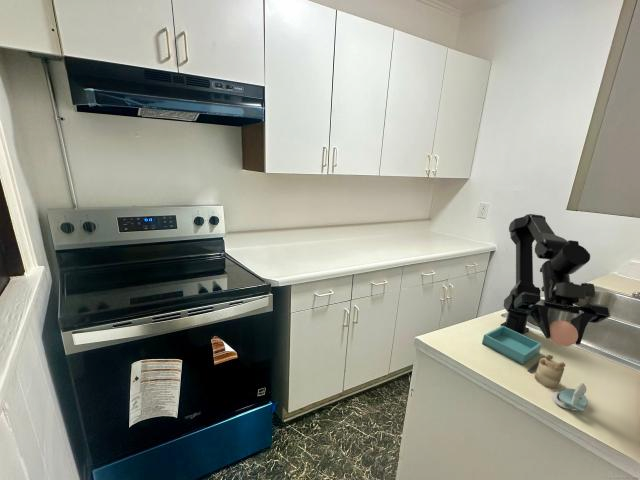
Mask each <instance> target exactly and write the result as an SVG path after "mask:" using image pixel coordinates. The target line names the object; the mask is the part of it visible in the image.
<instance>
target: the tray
mask: <svg viewBox="0 0 640 480" xmlns="http://www.w3.org/2000/svg"><path fill="white" fill-rule="evenodd" d="M481 341H482V342H481V344H482V345H483V346H486V347H488V348H489V349H492V350H493V351H495V352H497V353H498V354H500V355H501V356H505V358H508V359H509V360H512V361H513V362H515V363H517V364H519V365H521V366H523V365H524V364H526V363H527V362H529V361H530V360H531V359H533V358H534V357H536V356H537V355H539V354H540V352H541V349H542V345H543V343H541V342H540V341H537V340H534V339H532V338H530V337H528V336H525V335H523V334H520V333H517V332H515V331H513V330H511V329H509V328H507V327H505V326H501V325H500V326H499V327H497V328H495V329H493V330H491V331H489V332H487V333H484V334H483V338H482V340H481Z"/></svg>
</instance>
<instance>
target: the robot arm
mask: <svg viewBox="0 0 640 480" xmlns="http://www.w3.org/2000/svg"><path fill="white" fill-rule="evenodd" d="M546 220H547V219H546V216H545V215H544V216H543V215H542V214H541V215H540V214H535V213H533V214H532V213H529V214H525V215H524V216H522V217H517V218H514V219H513V220H512V221H511V222H510V223H509V227H508V232H509V235H510V239H511V241H512V242H513V243H514V245H515V285H514V286H513V288H512V289H511V290H510V293H509V295H507V296H506V297H505V299H504V300H503V308H504V309H505V311H506V312H507V316H506V320H505V321H504V322H502V323H500V327H501V326H505V327H507V328H509V329H511V330H513V331H515V332H517V333H520V334H522V335H523V334H526V333H527V332H528V331H530V328H528V327H527V325H528V321H529V317H530V316H531V318H532V320H534V322H535V323H536V324H537V326H538V328H539V329H540V330H541V332H542V334H543V336H544V337H545V339H547V340H548V339H549V338H550V328H549V323H550V322H549V316H548V315H549V310H553V311H558V312H564V313H569V314H573V318H571V319H570V323H571V324H572V325H573V326H574V327H575V328H576V329H577V332H578V339H577V341H576V342H575V343H574V344H576V345H580V344H582V343H581V342H582V339H583V337H584V333H585V331H586V327H587V326H588V324H589V323H592V324H598V323H600V322H602V321H604V320H606V319H608V318H610V317H611V312H610V311H611V310H610V309H609V308H608V306H607V305H603V304H598V303H592V302H588V303H586V304H584V305H582V306H579V305H574V304H578V303H579V302H580V300H584V301H585V300H587V298H595V296H596V289H595V284H594V283H589V282H582V283H580V284H577V283H574V282H573V281H571V277H570V275H572V274H574V273H576V272H577V271H578V270H580V269H581V268H582V267H583V266H585V265H586V264H588V263H589V261H590V260H591V254H590V252H589V251H588V250H587V249H586V248H585V247H584V246H582V245H580V244H579V241H578V240H570V239H569V240H566V238H564V237H561V236H559V235H556V234H555V232H554V231H553V229H552V228H551V226H550V225H549V224H548V222H547V221H546ZM534 242H536V243H535V246H534V253H535V255H536V257H537V258H538V259H540V260H547V261H545V262H543V263H542V265H541V267H540V269H539V273H541V274H542V282H543V283H542V284H543V286H542V287H541V288H540V287H536V285H535V284H534V265H533V263H534V262H533V261H534V260H533V257H534V256H533V254H534V253H533V243H534ZM541 292H543V295H544V299H543V298H541ZM549 340H550V339H549Z"/></svg>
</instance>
